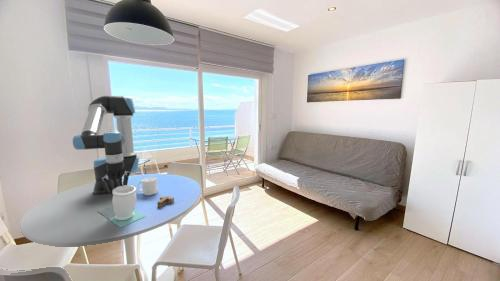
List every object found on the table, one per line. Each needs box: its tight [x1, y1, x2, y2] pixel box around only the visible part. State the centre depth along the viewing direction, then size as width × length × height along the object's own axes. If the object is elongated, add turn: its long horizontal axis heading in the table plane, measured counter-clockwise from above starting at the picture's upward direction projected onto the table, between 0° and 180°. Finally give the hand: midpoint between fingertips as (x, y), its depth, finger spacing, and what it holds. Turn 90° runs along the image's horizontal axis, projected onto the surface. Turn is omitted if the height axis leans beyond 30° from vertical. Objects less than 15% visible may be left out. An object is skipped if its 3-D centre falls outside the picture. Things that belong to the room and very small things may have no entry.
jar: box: [111, 184, 137, 220], centre depth 104 cm, size 11×10×15 cm
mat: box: [98, 206, 146, 228], centre depth 108 cm, size 26×12×1 cm, turn 56°
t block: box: [156, 195, 175, 208], centre depth 120 cm, size 8×8×3 cm
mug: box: [137, 176, 159, 196], centre depth 136 cm, size 12×9×9 cm
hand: (119, 204), depth 108 cm, fingers closed
